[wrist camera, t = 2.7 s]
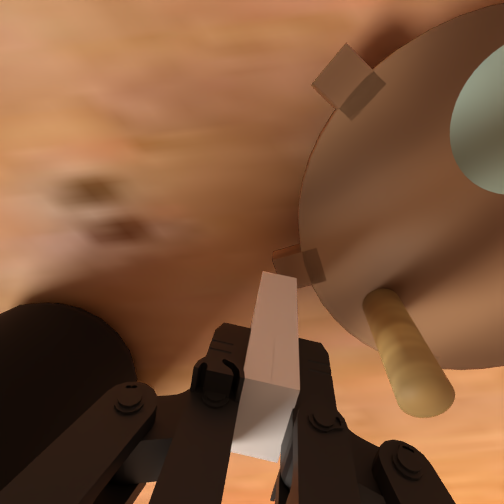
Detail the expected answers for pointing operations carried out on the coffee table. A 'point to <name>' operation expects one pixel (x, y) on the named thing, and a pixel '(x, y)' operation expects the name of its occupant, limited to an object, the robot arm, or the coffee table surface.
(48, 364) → the coffee jar
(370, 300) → the turntable
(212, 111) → the coffee table surface
